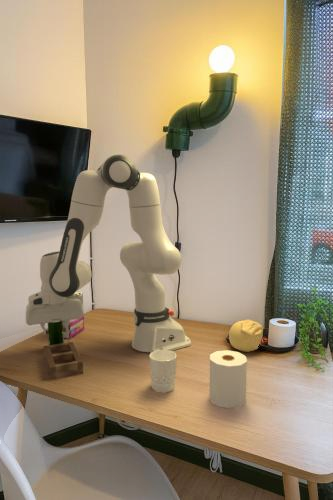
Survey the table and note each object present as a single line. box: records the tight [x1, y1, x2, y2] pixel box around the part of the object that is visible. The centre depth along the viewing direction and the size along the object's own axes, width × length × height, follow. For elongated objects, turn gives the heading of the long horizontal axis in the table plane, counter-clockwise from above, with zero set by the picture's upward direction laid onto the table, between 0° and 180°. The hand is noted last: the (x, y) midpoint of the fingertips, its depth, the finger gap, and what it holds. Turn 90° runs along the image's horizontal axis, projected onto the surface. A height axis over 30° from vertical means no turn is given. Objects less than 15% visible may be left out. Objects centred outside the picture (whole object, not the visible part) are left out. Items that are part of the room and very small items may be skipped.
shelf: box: [43, 341, 84, 381], centre depth 128 cm, size 10×18×4 cm, turn 24°
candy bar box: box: [63, 291, 85, 340], centre depth 156 cm, size 11×5×16 cm, turn 161°
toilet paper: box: [208, 349, 248, 409], centre depth 107 cm, size 10×10×12 cm
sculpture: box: [228, 319, 264, 353], centre depth 141 cm, size 12×12×11 cm
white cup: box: [149, 350, 177, 394], centre depth 113 cm, size 8×8×10 cm
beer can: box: [47, 318, 65, 346], centre depth 141 cm, size 5×5×12 cm
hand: (55, 332), depth 141 cm, fingers closed on beer can, 5 cm apart
